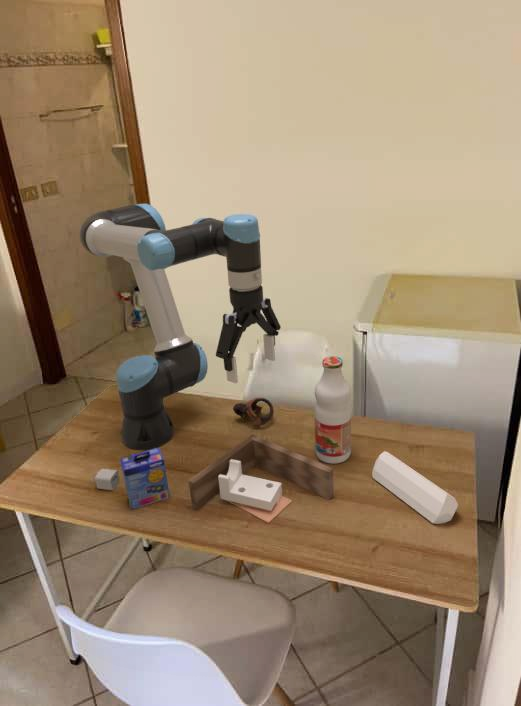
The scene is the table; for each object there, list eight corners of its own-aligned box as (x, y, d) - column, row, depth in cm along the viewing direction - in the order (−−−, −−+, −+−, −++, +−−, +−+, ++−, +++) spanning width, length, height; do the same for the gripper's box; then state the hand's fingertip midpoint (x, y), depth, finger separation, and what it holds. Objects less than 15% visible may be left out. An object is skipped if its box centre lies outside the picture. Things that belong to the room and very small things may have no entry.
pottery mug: (269, 410, 171) (275, 395, 164) (269, 437, 165) (275, 423, 159) (231, 405, 169) (236, 390, 163) (229, 432, 163) (234, 418, 157)
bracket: (221, 501, 133) (218, 476, 130) (233, 483, 139) (231, 459, 135) (271, 513, 128) (269, 488, 125) (282, 494, 134) (280, 469, 131)
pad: (220, 497, 135) (220, 496, 135) (245, 478, 141) (245, 477, 141) (268, 523, 126) (268, 522, 126) (292, 501, 132) (292, 500, 132)
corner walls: (192, 507, 132) (188, 480, 129) (254, 459, 148) (252, 434, 144) (273, 554, 117) (271, 525, 114) (333, 495, 133) (333, 468, 129)
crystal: (361, 465, 137) (435, 521, 118) (380, 444, 138) (457, 496, 119) (371, 480, 141) (445, 536, 122) (390, 460, 142) (466, 513, 124)
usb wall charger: (112, 491, 139) (110, 479, 138) (88, 488, 141) (85, 476, 139) (120, 481, 143) (117, 469, 141) (96, 478, 145) (93, 466, 143)
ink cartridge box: (131, 511, 132) (121, 462, 126) (127, 497, 137) (116, 449, 131) (171, 498, 136) (163, 449, 129) (165, 485, 140) (157, 438, 134)
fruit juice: (357, 459, 145) (358, 364, 133) (324, 468, 142) (323, 372, 130) (340, 440, 153) (340, 349, 141) (309, 448, 151) (307, 356, 138)
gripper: (218, 306, 113) (227, 396, 122) (293, 273, 129) (295, 354, 139) (193, 299, 117) (203, 386, 127) (268, 268, 134) (272, 347, 143)
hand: (251, 370), depth 133 cm, fingers open, 13 cm apart
